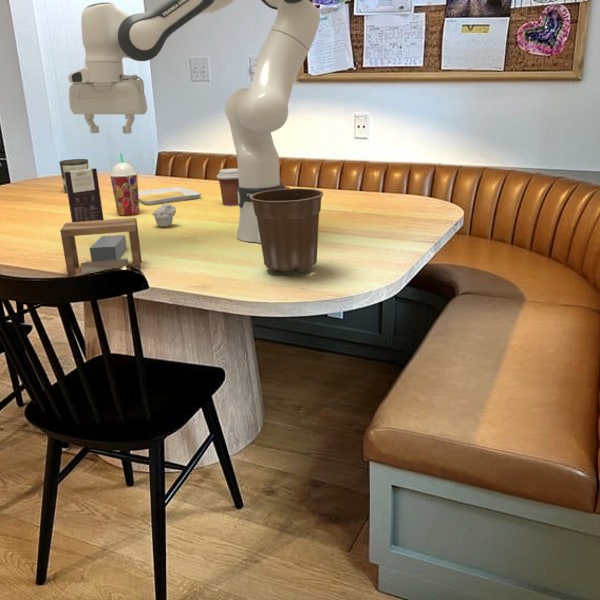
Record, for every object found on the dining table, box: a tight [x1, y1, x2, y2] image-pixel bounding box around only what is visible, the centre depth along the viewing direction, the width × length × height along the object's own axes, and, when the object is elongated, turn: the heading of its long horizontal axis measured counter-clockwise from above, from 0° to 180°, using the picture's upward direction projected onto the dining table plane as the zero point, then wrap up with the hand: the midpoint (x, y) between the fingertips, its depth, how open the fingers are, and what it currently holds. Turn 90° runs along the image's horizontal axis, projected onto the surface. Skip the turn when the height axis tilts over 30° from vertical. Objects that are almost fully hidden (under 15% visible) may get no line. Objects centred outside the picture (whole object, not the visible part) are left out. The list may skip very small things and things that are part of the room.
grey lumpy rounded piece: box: [151, 202, 177, 228], centre depth 186 cm, size 6×7×7 cm
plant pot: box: [250, 187, 324, 272], centre depth 143 cm, size 16×16×16 cm
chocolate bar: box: [64, 168, 105, 222], centre depth 181 cm, size 9×1×18 cm, turn 131°
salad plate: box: [138, 186, 202, 206], centre depth 229 cm, size 21×21×3 cm
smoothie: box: [109, 153, 140, 217], centre depth 201 cm, size 8×8×20 cm
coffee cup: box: [216, 168, 239, 207], centre depth 214 cm, size 9×9×12 cm
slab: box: [89, 234, 128, 262], centre depth 158 cm, size 12×6×4 cm, turn 3°
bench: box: [59, 217, 143, 277], centre depth 146 cm, size 8×16×10 cm, turn 101°
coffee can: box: [58, 158, 90, 195], centre depth 240 cm, size 10×10×14 cm
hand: (111, 133), depth 160 cm, fingers open, 8 cm apart
